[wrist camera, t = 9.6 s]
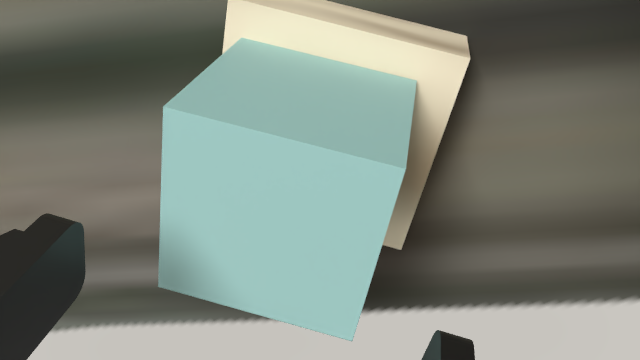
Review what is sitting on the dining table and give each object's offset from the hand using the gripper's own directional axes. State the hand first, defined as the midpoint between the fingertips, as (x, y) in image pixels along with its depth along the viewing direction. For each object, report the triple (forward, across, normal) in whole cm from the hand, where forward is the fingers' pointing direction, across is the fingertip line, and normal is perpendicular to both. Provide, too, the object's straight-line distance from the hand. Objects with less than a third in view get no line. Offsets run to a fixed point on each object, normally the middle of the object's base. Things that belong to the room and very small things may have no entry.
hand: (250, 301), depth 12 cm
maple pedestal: (+12, 0, 0) cm, 12 cm away
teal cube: (+9, 0, 0) cm, 9 cm away
